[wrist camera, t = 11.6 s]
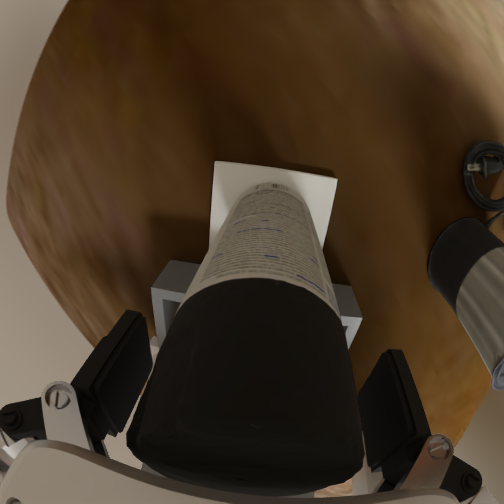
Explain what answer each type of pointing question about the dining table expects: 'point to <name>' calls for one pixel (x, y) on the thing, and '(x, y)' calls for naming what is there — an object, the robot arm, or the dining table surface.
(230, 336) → the spray can
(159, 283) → the case
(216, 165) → the pad
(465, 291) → the milk frother
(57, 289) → the dining table surface
